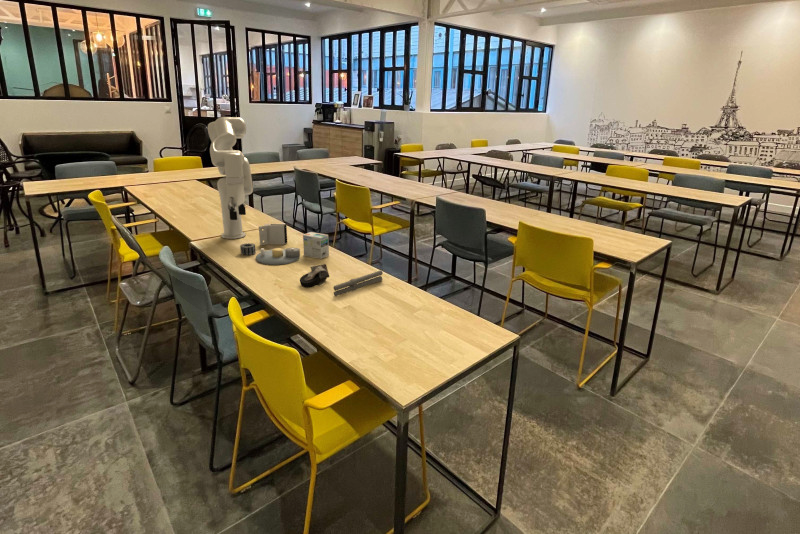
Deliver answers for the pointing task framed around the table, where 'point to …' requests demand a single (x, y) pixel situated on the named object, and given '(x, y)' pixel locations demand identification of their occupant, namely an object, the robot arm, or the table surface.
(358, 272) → the table surface
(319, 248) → the light bulb box
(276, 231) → the hinge
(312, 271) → the caster wheel
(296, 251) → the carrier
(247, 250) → the gear
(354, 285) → the metal rod assembly
